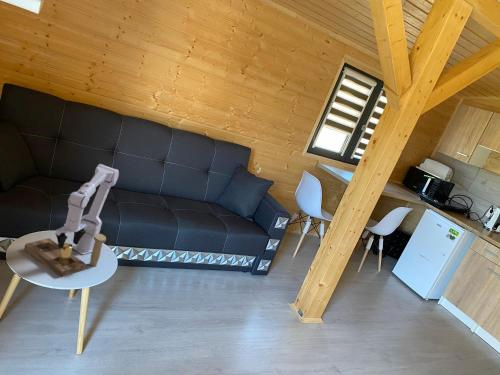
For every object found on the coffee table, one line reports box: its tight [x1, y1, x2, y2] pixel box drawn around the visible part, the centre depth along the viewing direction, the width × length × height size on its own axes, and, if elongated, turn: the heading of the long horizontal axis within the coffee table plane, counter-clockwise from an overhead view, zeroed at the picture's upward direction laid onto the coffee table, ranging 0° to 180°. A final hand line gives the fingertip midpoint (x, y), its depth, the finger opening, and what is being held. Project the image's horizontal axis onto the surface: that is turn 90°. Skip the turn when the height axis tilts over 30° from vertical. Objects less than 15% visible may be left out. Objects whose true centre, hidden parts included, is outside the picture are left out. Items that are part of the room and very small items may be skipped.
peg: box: [58, 242, 74, 266], centre depth 171 cm, size 4×4×10 cm
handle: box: [89, 233, 107, 267], centre depth 179 cm, size 5×6×15 cm
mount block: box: [24, 237, 86, 278], centre depth 174 cm, size 12×26×3 cm, turn 62°
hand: (67, 245), depth 170 cm, fingers open, 7 cm apart
